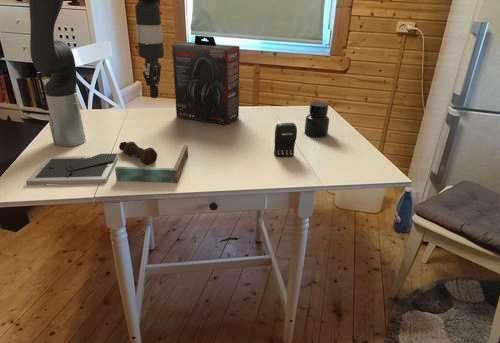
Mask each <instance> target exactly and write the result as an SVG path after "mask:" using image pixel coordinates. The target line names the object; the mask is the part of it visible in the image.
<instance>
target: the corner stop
mask: <svg viewBox="0 0 500 343" xmlns="http://www.w3.org/2000/svg"><path fill="white" fill-rule="evenodd" d="M188 147H189V146H188V145H187V144H183V146H182V148H181V150H180V152H179V155H178V157H177V160H176V162H175V164H174V166H173V168H171V167H170V168H169V167H168V168H167V167H164V168H163V167H141V166H140V167H139V166H137V167H136V166H115V167H114V172H115V178H116V182H135V183H162V184H163V183H164V184H165V183H166V184H167V183H168V184H178V183H179V180H180V179H181V175H182V173H183V171H184V168H185V166H186V163H187V160H188V158H189V148H188Z"/></svg>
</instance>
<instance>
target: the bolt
mask: <svg viewBox="0 0 500 343" xmlns="http://www.w3.org/2000/svg"><path fill="white" fill-rule="evenodd" d="M118 148H119V150H120V151H121V152H123V153H124V154H125V155H126V156H127V157H133V156H134V157H135V158H138V159H139V160H140V161H141V163H142V164H143V165H145V166H150V165H153V164H155V163H156V162H157V158H158V153H157V151H156V150H155V149H154V148H153V147H151V146H150V147H148V148H147V147H146V148H145V149H144V148H142V147H139V146H138V145H137V143H136V142H135V141H128V142H127V141H123V142H120V143H119V145H118Z"/></svg>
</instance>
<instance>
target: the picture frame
mask: <svg viewBox="0 0 500 343" xmlns="http://www.w3.org/2000/svg"><path fill="white" fill-rule="evenodd" d="M118 161H119V158H118V153H116V152H115V153H99V154H96V155H80V156H78V155H76V156H75V155H73V156H72V155H71V156H70V155H69V156H68V155H67V156H48V157H47V158H46V159H44V160H43V162H42V163H41V164H40V165H39V167H37V168H36V170H34V171H33V172H32V174H31V175H30V176H29V177H28V178H27V179H26V181H25V182H26V185H27V186H47V185H46V184H59V185H92V184H93V185H94V184H95V185H96V184H107V182H108V181H109V178H110V176H111V175H112V173H113V171H114V170H115V168H116V165H117V163H118Z"/></svg>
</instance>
